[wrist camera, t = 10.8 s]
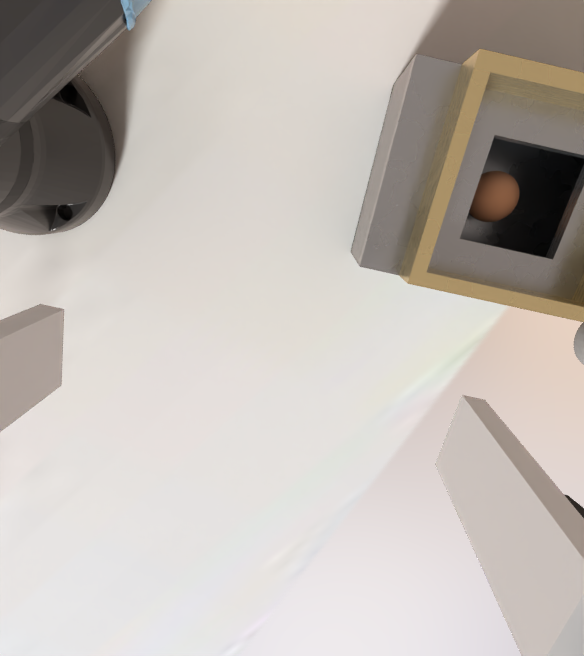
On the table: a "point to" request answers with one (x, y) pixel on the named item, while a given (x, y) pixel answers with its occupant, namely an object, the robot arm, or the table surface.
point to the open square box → (463, 177)
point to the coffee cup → (579, 343)
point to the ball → (494, 196)
